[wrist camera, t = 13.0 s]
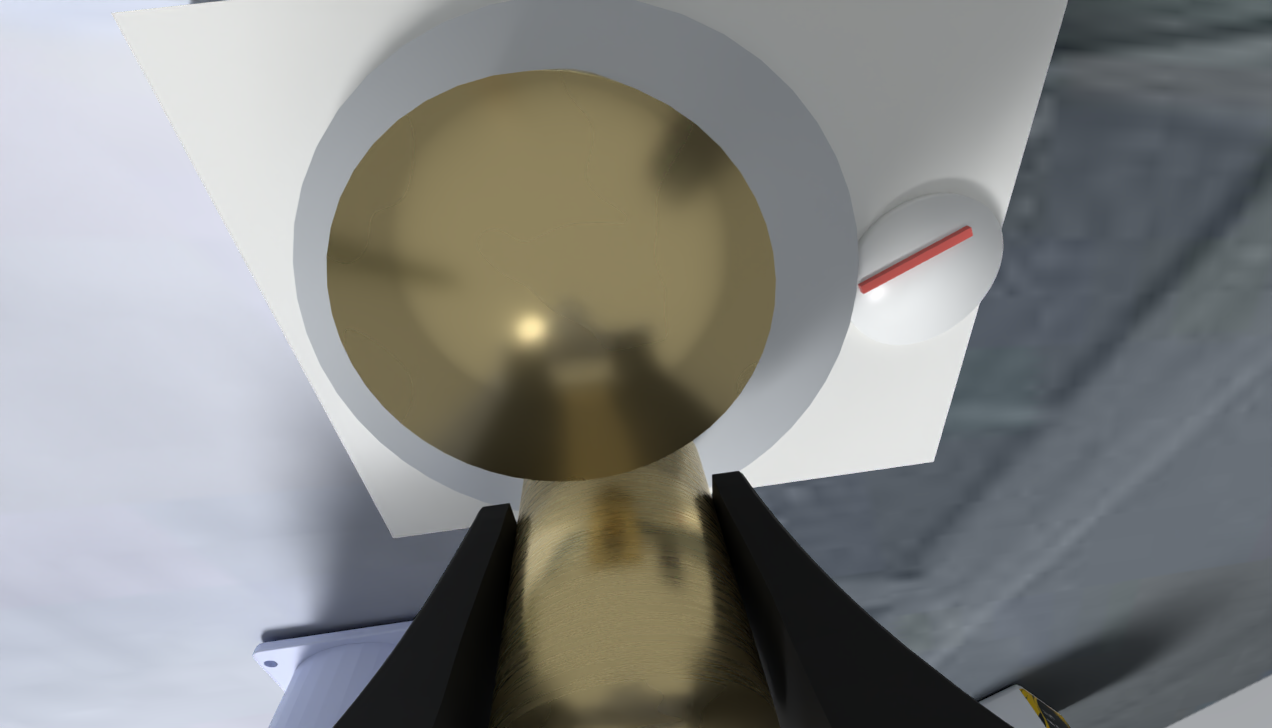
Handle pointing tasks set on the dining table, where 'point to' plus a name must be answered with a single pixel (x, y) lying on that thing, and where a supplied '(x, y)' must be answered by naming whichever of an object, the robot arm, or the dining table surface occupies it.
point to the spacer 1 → (551, 275)
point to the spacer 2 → (626, 609)
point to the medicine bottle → (1023, 709)
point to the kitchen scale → (726, 111)
